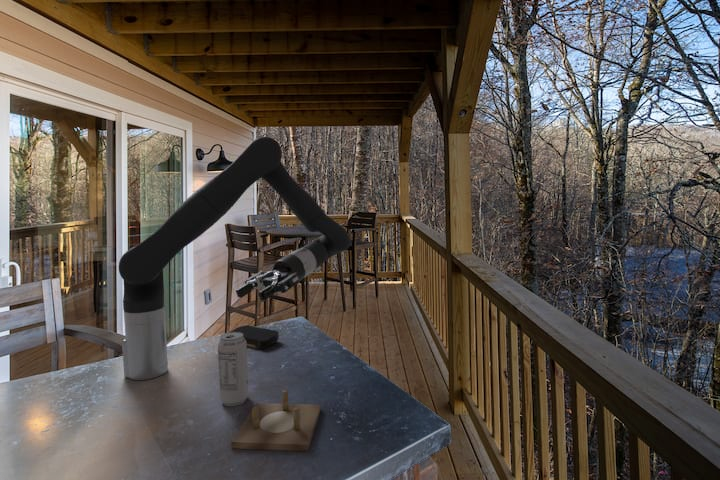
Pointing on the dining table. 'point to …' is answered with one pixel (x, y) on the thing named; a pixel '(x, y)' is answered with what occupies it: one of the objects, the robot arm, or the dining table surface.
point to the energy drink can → (233, 369)
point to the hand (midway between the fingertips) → (248, 295)
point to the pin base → (278, 426)
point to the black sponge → (257, 336)
